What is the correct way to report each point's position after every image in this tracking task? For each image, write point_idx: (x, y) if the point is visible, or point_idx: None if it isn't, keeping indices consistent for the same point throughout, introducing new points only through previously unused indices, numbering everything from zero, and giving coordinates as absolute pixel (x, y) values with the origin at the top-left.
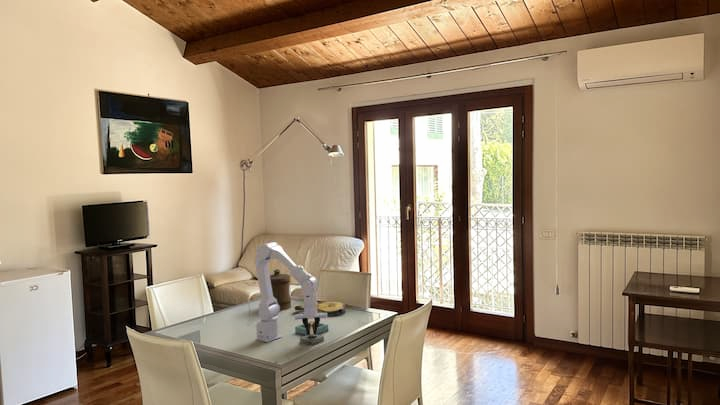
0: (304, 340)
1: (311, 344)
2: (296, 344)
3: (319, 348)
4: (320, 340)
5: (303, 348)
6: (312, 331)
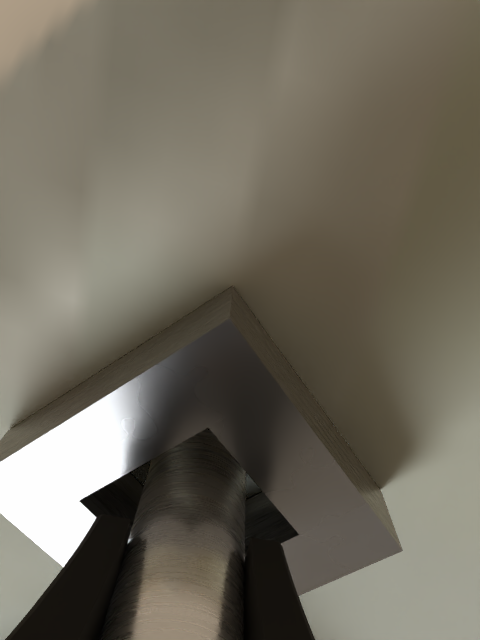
0: (339, 456)
1: (240, 302)
2: (464, 427)
3: (114, 43)
4: (55, 408)
5: (427, 183)
6: (158, 597)
